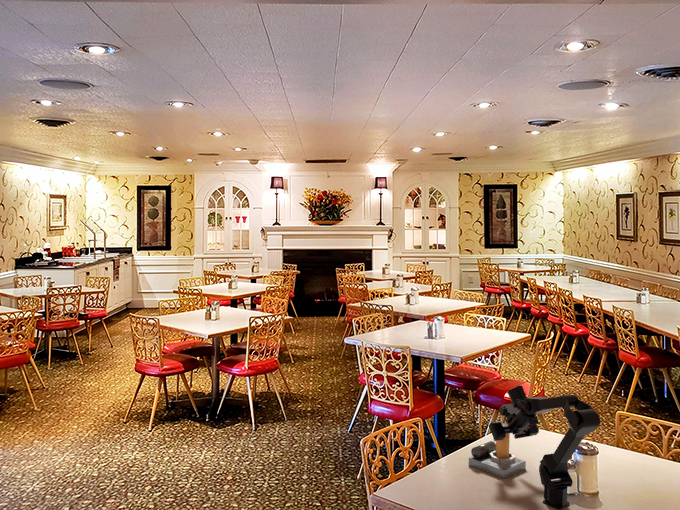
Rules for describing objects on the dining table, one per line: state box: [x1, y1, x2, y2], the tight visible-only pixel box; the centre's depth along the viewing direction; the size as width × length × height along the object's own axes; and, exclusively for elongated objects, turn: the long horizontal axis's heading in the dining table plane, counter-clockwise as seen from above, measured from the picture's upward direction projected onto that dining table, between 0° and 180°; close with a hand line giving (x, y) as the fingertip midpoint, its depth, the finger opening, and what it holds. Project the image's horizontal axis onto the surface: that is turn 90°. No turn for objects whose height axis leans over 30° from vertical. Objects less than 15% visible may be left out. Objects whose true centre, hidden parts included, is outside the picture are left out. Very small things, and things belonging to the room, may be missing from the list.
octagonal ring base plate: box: [468, 440, 527, 479], centre depth 220 cm, size 16×14×7 cm
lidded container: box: [495, 422, 511, 459], centre depth 220 cm, size 5×5×13 cm
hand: (504, 438), depth 219 cm, fingers open, 9 cm apart
